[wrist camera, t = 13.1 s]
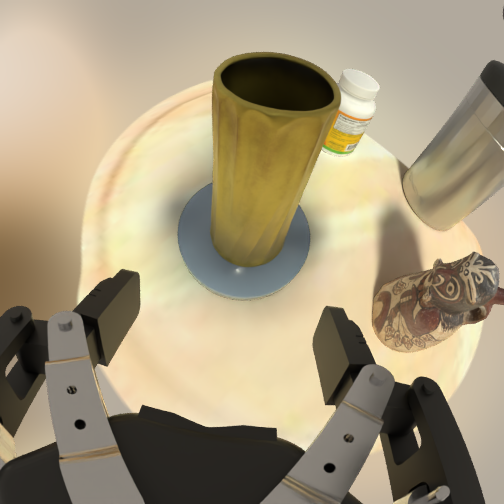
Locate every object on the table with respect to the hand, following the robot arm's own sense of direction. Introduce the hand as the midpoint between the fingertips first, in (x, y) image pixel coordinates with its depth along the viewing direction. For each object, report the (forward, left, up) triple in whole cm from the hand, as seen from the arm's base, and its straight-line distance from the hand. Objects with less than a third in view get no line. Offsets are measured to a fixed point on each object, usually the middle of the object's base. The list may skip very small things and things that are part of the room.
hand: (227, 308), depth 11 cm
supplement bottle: (-14, -20, -10) cm, 27 cm away
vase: (-3, -8, -9) cm, 12 cm away
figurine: (-16, +1, -10) cm, 19 cm away
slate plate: (-2, -8, -10) cm, 13 cm away
